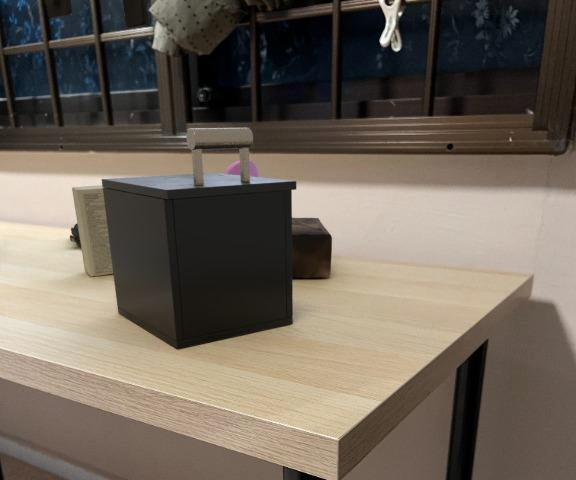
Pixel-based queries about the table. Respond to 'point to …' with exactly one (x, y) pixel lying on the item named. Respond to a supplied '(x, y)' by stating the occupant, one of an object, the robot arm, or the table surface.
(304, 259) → the dark brown block
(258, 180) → the black lid
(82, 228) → the cosmetic box
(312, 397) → the table surface
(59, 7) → the robot arm
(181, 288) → the trash can
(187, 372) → the table surface
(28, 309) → the table surface
